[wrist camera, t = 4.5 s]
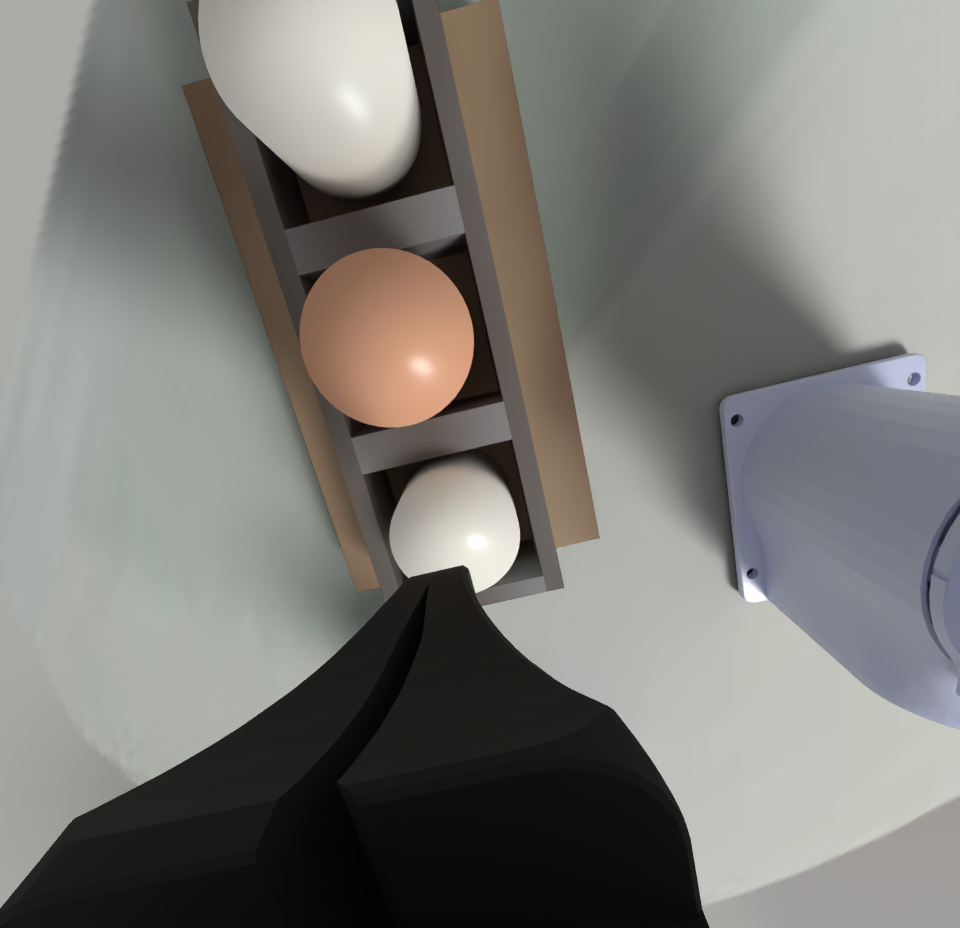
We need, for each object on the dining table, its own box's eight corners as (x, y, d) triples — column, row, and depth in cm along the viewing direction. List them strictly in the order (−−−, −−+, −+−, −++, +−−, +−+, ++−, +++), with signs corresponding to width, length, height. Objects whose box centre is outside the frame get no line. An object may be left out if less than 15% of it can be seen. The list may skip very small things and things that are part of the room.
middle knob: (486, 388, 15) (491, 405, 11) (365, 418, 15) (331, 444, 12) (455, 255, 14) (449, 227, 10) (325, 289, 14) (274, 273, 11)
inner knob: (520, 532, 19) (532, 580, 15) (421, 555, 19) (409, 607, 15) (497, 435, 18) (504, 461, 14) (393, 459, 18) (373, 492, 14)
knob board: (494, 37, 16) (504, -91, 11) (587, 519, 21) (622, 574, 16) (215, 115, 17) (110, 24, 12) (367, 569, 21) (336, 638, 16)
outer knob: (438, 181, 14) (425, 124, 10) (303, 217, 14) (241, 174, 10) (399, 15, 12) (368, -118, 9) (254, 56, 13) (165, -58, 9)
